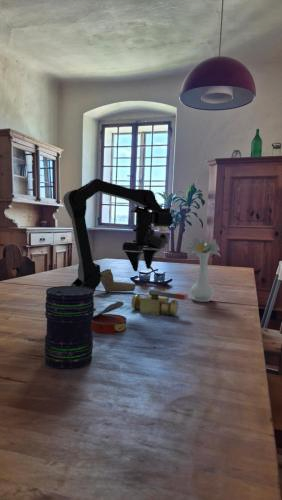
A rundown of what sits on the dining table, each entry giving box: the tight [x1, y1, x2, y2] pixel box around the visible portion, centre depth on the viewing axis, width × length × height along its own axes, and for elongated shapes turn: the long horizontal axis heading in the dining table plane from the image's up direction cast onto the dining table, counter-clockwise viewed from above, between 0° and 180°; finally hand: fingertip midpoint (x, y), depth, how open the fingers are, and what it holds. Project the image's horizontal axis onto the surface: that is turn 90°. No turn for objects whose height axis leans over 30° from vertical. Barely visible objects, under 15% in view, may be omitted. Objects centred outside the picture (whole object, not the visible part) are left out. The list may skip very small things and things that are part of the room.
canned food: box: [92, 301, 127, 335], centre depth 94 cm, size 11×10×10 cm
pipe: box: [100, 268, 137, 293], centre depth 145 cm, size 6×17×10 cm, turn 99°
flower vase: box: [186, 237, 221, 303], centre depth 135 cm, size 13×18×25 cm
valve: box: [130, 294, 179, 317], centre depth 114 cm, size 7×15×6 cm, turn 61°
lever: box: [148, 288, 189, 301], centre depth 111 cm, size 13×4×2 cm, turn 62°
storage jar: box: [44, 285, 95, 371], centre depth 71 cm, size 10×10×15 cm
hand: (142, 269), depth 121 cm, fingers open, 9 cm apart
